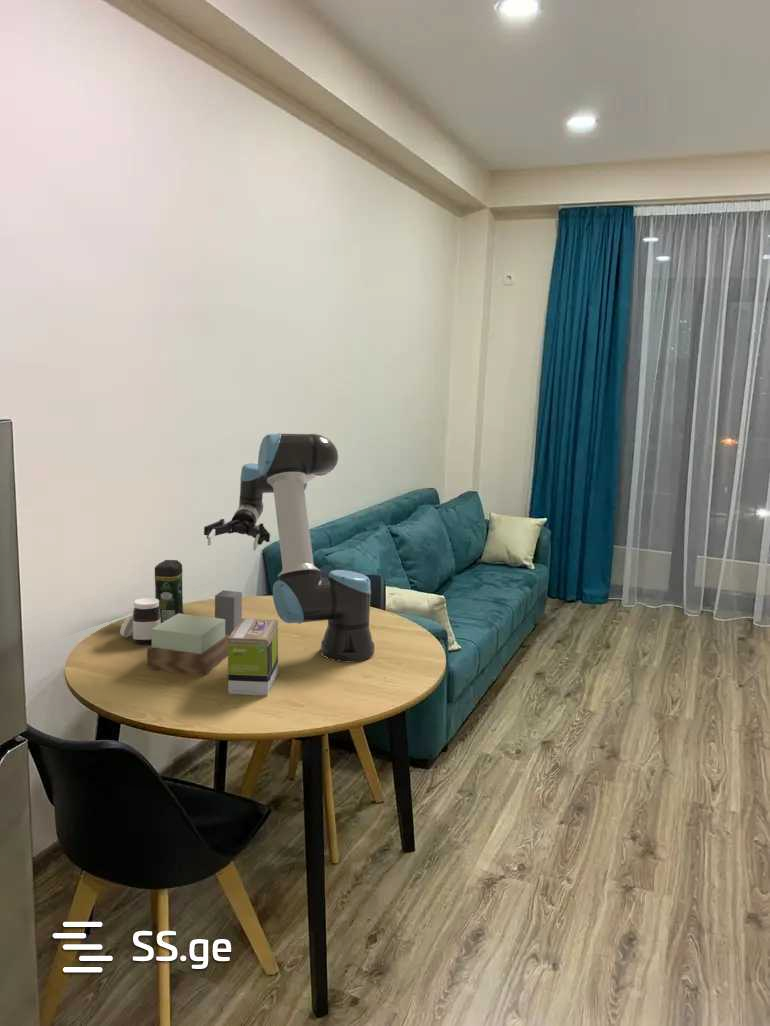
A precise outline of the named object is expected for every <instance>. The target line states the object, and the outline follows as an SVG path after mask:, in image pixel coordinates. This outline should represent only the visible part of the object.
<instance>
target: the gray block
mask: <svg viewBox="0 0 770 1026" xmlns="http://www.w3.org/2000/svg"><path fill="white" fill-rule="evenodd" d="M242 610H243V592H242V591H232V590H225V589H223V590H222V591H219V593H217V594H215V595H214V618H219V619H225V635H231V633H232V632H233V630H234V629H235V627H236V626H237V624H238V623H239V622H240V620H241V619H243V618H242V617H243V614H242V613H243V611H242Z"/></svg>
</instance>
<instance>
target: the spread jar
mask: <svg viewBox="0 0 770 1026" xmlns="http://www.w3.org/2000/svg"><path fill="white" fill-rule="evenodd" d="M133 606H134V608H133V611H132V613H130V614H128V615H127V616H126V618H125V619H124V620H123V622H122V624H121V627H120V631H119V635H120V636H122V637H124V638H127V637H129V636H131V634H132V639H133V642H135V643H136V644H139V645H152V628H154V627H156V626H157V625H159V624H161V611H160V608H159V600H158V599H156V598H155V597H141V598H138V599H135V600H134V601H133Z"/></svg>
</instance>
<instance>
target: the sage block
mask: <svg viewBox="0 0 770 1026" xmlns="http://www.w3.org/2000/svg"><path fill="white" fill-rule="evenodd" d="M224 637H225V619H219V618H215V617H209V616H204V615H203V616H202V615H195V614H187V613H183V614H180V613H178V614H176V615H175V616H173V617H171V618H170V619H168V620H166V621H164V622H163V623H161V624H159V625H157V626H156V627H154V628H152V644H151V646H152V647H153V648H160V649H168V650H175V651H182V652H189V653H197V654H202V653H203V652H205V651H206V650H208V649H209V648H210V647H212V646H213V645H214V644H216V643H217V642H219V641H220V640H221V639H223V638H224Z"/></svg>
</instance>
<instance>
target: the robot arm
mask: <svg viewBox="0 0 770 1026" xmlns="http://www.w3.org/2000/svg"><path fill="white" fill-rule="evenodd" d="M259 445H260V446H259V450H258V458H257V459H258V460H257V463H254V462H252V463H246V464H243V466H241V472H240V483H239V484H240V485H239V486H240V488H239V492H240V493H239V503H238V507H237V509H236V511H235V513H234V515H233V516H232V518H231V520H229V521H225V519H224V518H221V519H219V521H216V522H213V523H210V524H208V525H206V526H204V529H203V535H204V536H206V539H207V546H211V545H212V543H213V542H214V540H215V539H216V536H221V535H223V534H234V533H236V534H237V533H238V534H240V535H247V536H248V537H250V536H251V537H252V538H253V539H254V540H253V545H252V546H253V548H252V550H253V551H257V548H258V546H259V545H263V543H264V541H265V543H270V540H271V539H270V538H271V533H270V532H269V531H268V530H267V529H266V528H265V526H264V523H259V524H257V522H258V520H259V518H260V517H261V516H262V513H263V510H264V503H263V499H264V498H263V497H264V496H263V495H264V494H268V493H269V494H271V493H273V498H274V506H275V514H276V523H277V532H278V540H279V546H280V547H279V548H280V555H281V556H280V557H281V564H282V570H281V571H280V573H279V574H278V575H277V578H278V579H277V581H275V582H273V586H272V592H273V593H272V599H273V604H274V608H275V611H276V613H277V615H278V617H279V619H280V620H281V621H282V622H283V623H285V624H303V623H310V622H322V621H327V627H326V630H325V633H324V636H323V639H322V641H321V644H320V654H321V653H322V654H323V655H324V656H326V657H328V658H331V659H334V660H333V661H335V660H340V661H339V662H342V661H351V662H350V663H353V662H352V661H356V662H362V661H361V660H363V661H366V660H369V659H371V658H372V657H373V656H374V655H375V644H374V642H373V638H372V634H371V630H370V612H371V594H372V590H371V580H370V578H369V577H368V576H367V575H365V574H363V573H360V572H357V571H353V570H346V569H334V570H331V571H329V572H328V573H329V574H328V577H322V574H321V570H320V569H319V568H318V567H317V566H315V563H314V557H313V548H312V541H311V533H310V526H309V518H308V510H307V509H308V508H307V503H306V502H307V500H306V494H305V490H306V488H307V486H308V482H310V481H312V480H313V479H315V478H316V477H319V476H320V477H321V476H322V477H323V476H325V475H327V474H329V473H331V472H332V471H333V470H334V469H335V468H336V466H337V465H338V461H339V453H338V449H337V447H336V445H335V444H334V443H333V442H332V441H331V440H330V439H329V438H328V437H325V436H323V435H321V434H317V433H308V434H307V433H282V432H278V433H267V434H266V435H265V436H264V437H262V439H261V443H260V444H259ZM256 524H257V525H256ZM322 654H321V655H322ZM373 654H374V655H373ZM323 655H322V656H323ZM372 655H373V656H372ZM324 656H323V657H324ZM371 656H372V657H371ZM326 657H325V658H326ZM370 657H371V658H370ZM328 658H327V659H328ZM368 658H369V659H368ZM331 659H330V660H331ZM365 659H366V660H365Z"/></svg>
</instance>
